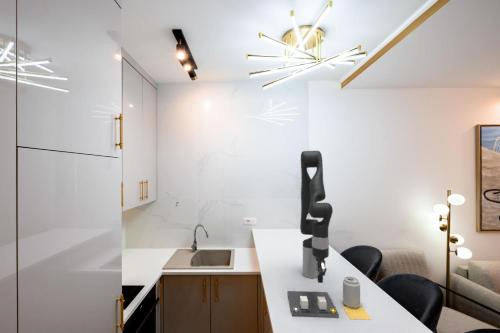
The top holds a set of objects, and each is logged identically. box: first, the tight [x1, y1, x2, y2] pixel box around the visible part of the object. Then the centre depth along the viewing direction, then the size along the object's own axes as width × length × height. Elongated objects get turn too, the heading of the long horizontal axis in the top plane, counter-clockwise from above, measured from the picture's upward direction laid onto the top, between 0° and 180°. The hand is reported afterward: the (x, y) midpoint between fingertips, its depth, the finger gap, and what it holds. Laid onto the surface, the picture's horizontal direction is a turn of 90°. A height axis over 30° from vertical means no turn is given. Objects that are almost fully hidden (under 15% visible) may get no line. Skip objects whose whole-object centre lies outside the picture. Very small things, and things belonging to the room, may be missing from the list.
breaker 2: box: [318, 297, 327, 310], centre depth 107 cm, size 4×3×4 cm
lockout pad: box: [342, 305, 372, 321], centre depth 105 cm, size 9×9×1 cm
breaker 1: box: [300, 296, 308, 309], centre depth 107 cm, size 4×3×4 cm
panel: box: [286, 290, 340, 319], centre depth 111 cm, size 18×20×3 cm
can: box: [342, 276, 361, 308], centre depth 111 cm, size 8×8×12 cm
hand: (320, 282), depth 111 cm, fingers closed
